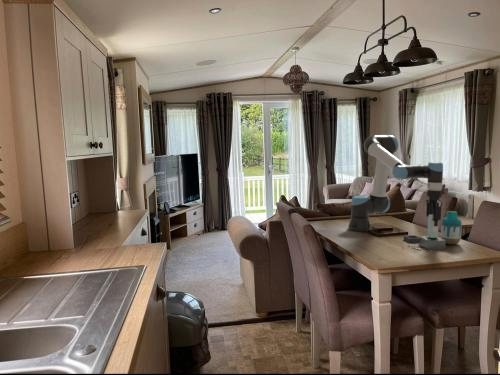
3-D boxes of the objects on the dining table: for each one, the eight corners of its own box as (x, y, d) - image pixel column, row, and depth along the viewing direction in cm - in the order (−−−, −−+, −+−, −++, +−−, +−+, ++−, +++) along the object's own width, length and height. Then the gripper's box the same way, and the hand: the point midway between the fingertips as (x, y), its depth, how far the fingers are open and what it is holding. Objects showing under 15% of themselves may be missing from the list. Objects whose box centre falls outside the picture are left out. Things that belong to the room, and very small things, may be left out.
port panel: (419, 244, 227) (419, 235, 226) (436, 244, 227) (436, 235, 226) (427, 249, 217) (427, 239, 216) (445, 249, 217) (445, 239, 216)
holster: (403, 239, 239) (403, 235, 239) (415, 239, 240) (415, 235, 239) (408, 242, 232) (409, 238, 232) (421, 242, 232) (421, 238, 232)
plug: (427, 236, 223) (428, 214, 222) (434, 236, 223) (435, 214, 222) (430, 237, 219) (431, 215, 218) (437, 237, 219) (438, 215, 218)
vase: (449, 247, 221) (451, 213, 219) (436, 242, 232) (437, 210, 229) (465, 245, 224) (466, 212, 222) (451, 241, 234) (452, 209, 232)
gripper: (420, 188, 227) (419, 227, 229) (435, 191, 210) (433, 234, 212) (433, 188, 227) (431, 227, 229) (449, 191, 210) (447, 234, 212)
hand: (432, 230), depth 221 cm, fingers closed on plug, 4 cm apart
